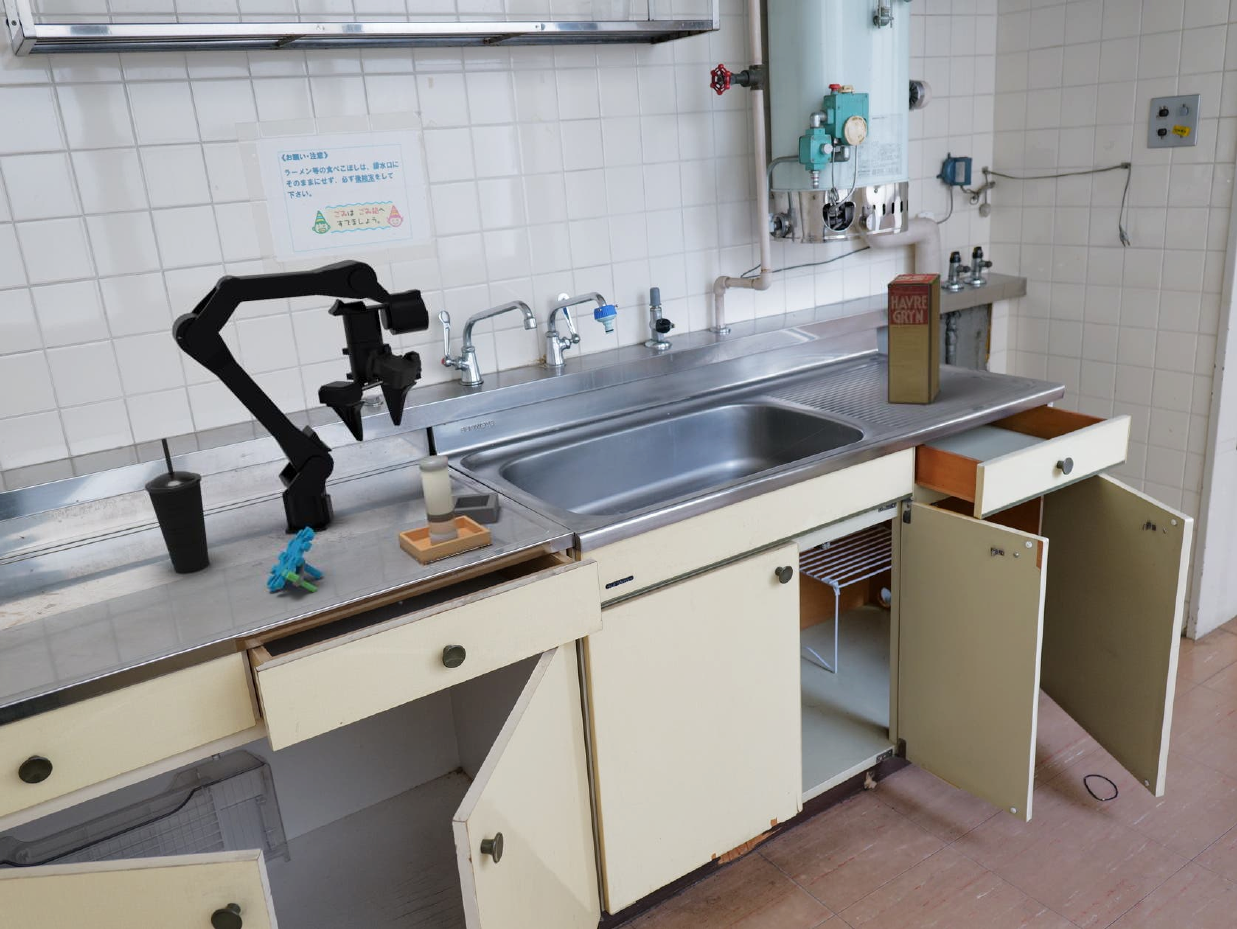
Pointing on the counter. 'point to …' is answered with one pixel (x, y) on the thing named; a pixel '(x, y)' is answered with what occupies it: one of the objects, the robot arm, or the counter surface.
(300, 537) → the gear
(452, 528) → the cylinder
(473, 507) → the socket block
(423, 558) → the tray
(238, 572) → the counter surface
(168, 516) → the drinking cup
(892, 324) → the food packaging
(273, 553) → the counter surface
